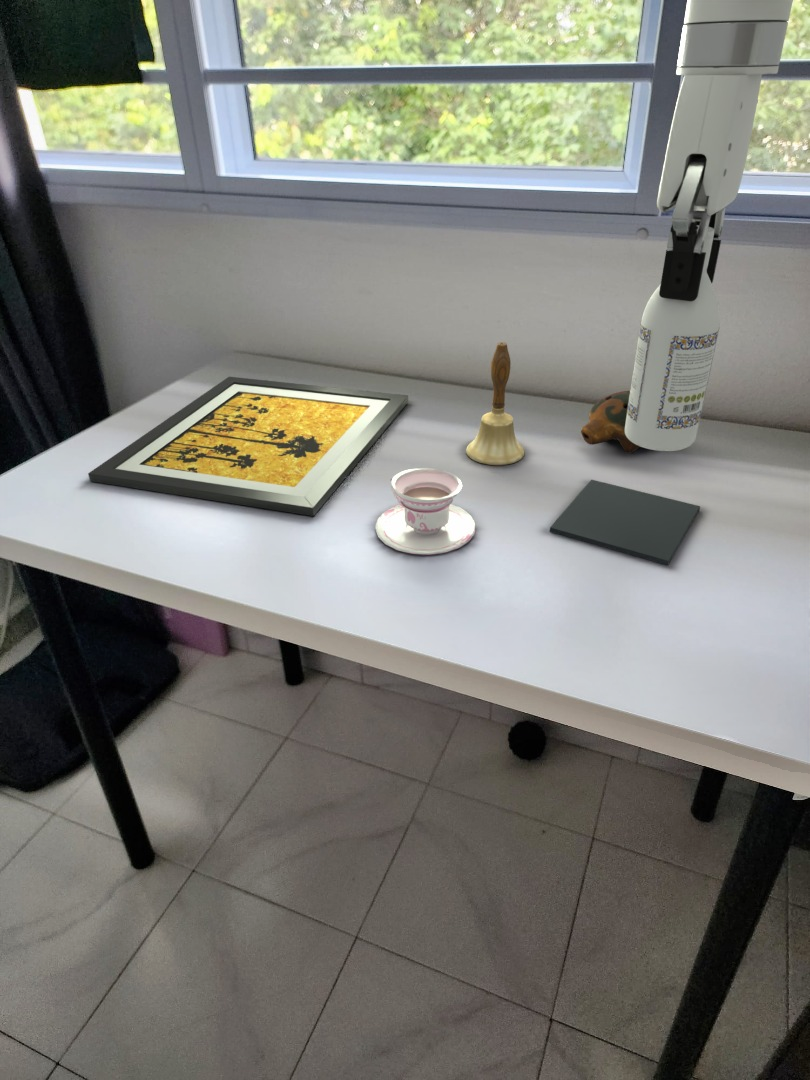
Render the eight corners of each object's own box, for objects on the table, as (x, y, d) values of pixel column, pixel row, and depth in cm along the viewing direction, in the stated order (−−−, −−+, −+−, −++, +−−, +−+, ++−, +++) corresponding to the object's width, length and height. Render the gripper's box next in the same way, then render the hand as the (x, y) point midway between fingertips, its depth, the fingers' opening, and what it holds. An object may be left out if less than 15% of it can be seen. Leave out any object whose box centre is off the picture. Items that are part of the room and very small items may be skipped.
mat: (699, 510, 93) (700, 506, 92) (667, 565, 83) (668, 560, 82) (590, 483, 99) (591, 479, 99) (549, 531, 89) (549, 527, 89)
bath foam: (707, 437, 76) (754, 227, 65) (672, 460, 72) (716, 239, 61) (646, 418, 80) (680, 217, 69) (610, 438, 76) (640, 229, 65)
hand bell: (536, 451, 107) (545, 342, 99) (500, 471, 102) (507, 357, 94) (490, 435, 112) (495, 329, 104) (454, 453, 107) (456, 344, 99)
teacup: (493, 520, 91) (495, 475, 88) (442, 568, 83) (443, 520, 80) (410, 495, 97) (410, 452, 94) (355, 537, 89) (352, 491, 85)
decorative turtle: (687, 442, 109) (697, 391, 104) (610, 475, 103) (617, 423, 98) (638, 416, 116) (645, 368, 111) (562, 446, 110) (567, 396, 105)
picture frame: (228, 376, 131) (408, 395, 123) (229, 382, 132) (408, 401, 123) (87, 473, 101) (313, 507, 92) (89, 481, 102) (314, 516, 93)
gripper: (705, 53, 66) (669, 267, 76) (649, 54, 54) (615, 309, 64) (797, 51, 63) (747, 275, 72) (761, 51, 50) (706, 321, 60)
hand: (686, 289), depth 68 cm, fingers closed on bath foam, 5 cm apart
